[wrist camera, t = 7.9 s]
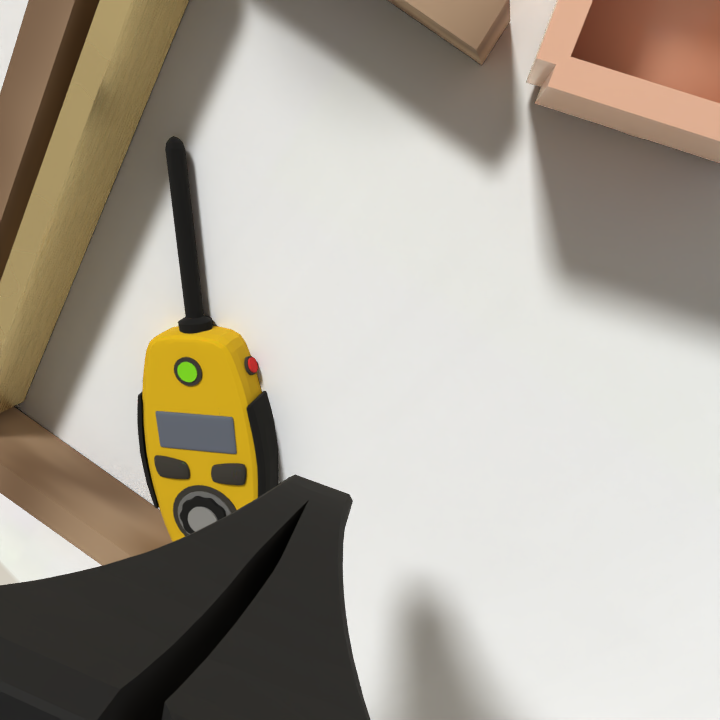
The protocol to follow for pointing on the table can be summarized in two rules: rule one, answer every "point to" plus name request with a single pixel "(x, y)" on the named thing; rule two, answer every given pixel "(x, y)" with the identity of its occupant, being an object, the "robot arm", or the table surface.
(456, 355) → the table surface
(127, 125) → the tan wooden slat
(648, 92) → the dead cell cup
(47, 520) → the wooden frame
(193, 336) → the yellow walkie talkie
